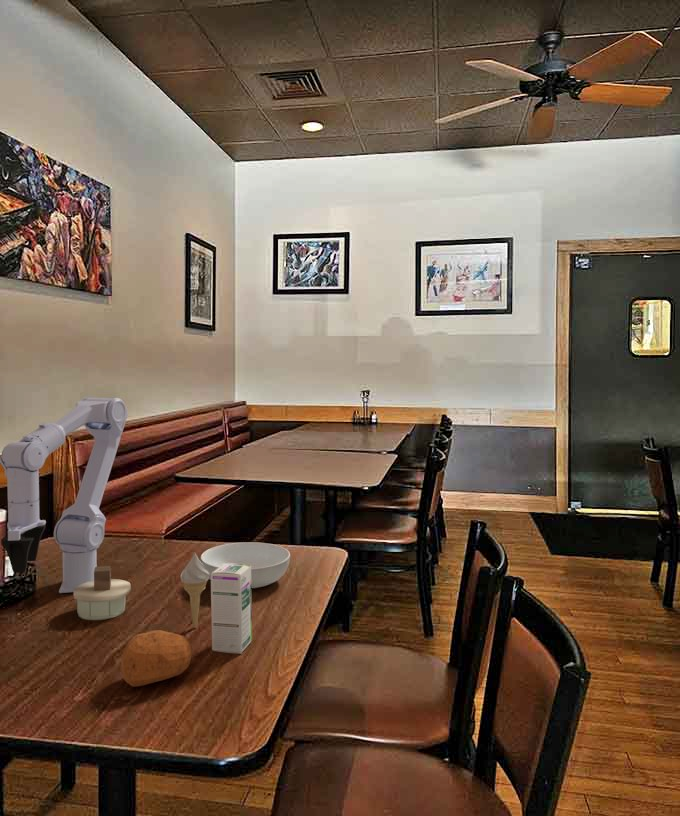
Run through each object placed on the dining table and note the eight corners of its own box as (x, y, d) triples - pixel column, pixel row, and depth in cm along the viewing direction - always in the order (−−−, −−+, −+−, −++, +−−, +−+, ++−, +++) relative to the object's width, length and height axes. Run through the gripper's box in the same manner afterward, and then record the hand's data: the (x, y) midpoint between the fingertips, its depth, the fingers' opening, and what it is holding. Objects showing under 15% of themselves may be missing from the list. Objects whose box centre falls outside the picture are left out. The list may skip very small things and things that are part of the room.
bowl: (80, 605, 136) (80, 587, 135) (125, 602, 138) (125, 583, 138) (75, 622, 127) (75, 602, 127) (123, 617, 129) (123, 598, 129)
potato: (120, 670, 107) (120, 626, 107) (189, 661, 111) (189, 618, 111) (121, 697, 99) (121, 649, 98) (196, 686, 102) (196, 640, 102)
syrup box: (241, 654, 114) (242, 573, 113) (210, 651, 115) (210, 571, 114) (252, 641, 119) (252, 564, 118) (222, 638, 120) (222, 561, 119)
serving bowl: (182, 590, 146) (181, 560, 145) (231, 564, 165) (231, 538, 165) (263, 604, 138) (263, 572, 138) (304, 575, 157) (305, 547, 157)
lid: (77, 585, 136) (76, 562, 136) (131, 581, 139) (131, 559, 139) (70, 604, 126) (70, 579, 125) (129, 599, 129) (129, 575, 128)
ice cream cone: (215, 624, 127) (215, 549, 126) (199, 635, 121) (199, 557, 120) (190, 620, 129) (190, 546, 128) (174, 631, 123) (174, 554, 122)
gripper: (35, 507, 125) (36, 576, 125) (53, 493, 139) (54, 555, 140) (-5, 508, 123) (-3, 578, 124) (18, 493, 137) (19, 556, 138)
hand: (24, 566), depth 132 cm, fingers open, 7 cm apart
